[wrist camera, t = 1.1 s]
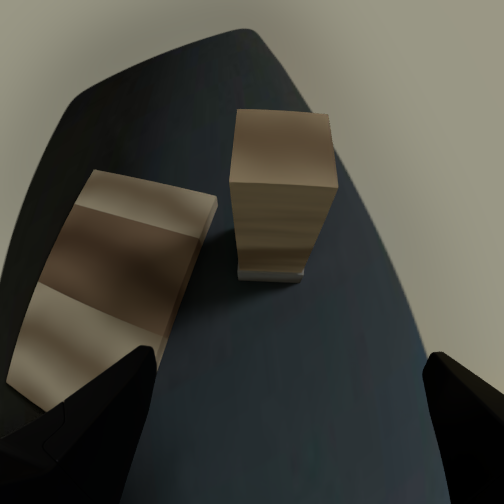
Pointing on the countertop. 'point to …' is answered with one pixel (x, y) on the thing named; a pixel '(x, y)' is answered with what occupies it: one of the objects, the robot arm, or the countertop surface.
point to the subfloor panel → (109, 283)
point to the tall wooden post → (280, 190)
